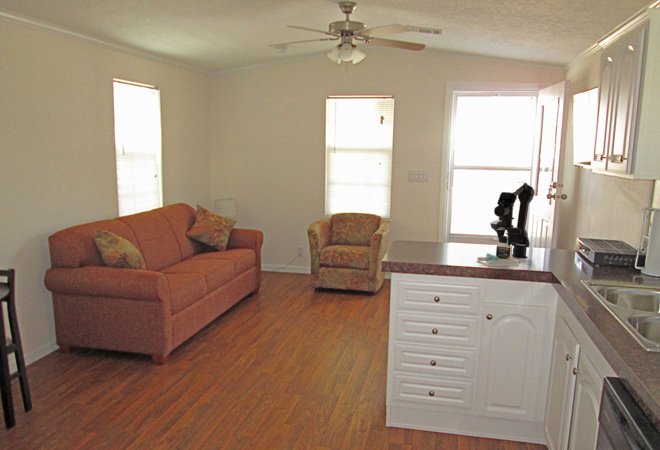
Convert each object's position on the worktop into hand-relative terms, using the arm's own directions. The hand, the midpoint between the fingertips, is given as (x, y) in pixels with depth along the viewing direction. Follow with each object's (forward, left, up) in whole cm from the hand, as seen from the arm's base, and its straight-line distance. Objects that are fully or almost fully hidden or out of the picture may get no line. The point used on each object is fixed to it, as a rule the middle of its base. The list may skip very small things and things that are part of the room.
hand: (504, 244), depth 270 cm
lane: (+4, 0, -10) cm, 11 cm away
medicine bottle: (0, 0, -8) cm, 8 cm away
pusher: (+11, 0, -9) cm, 14 cm away
